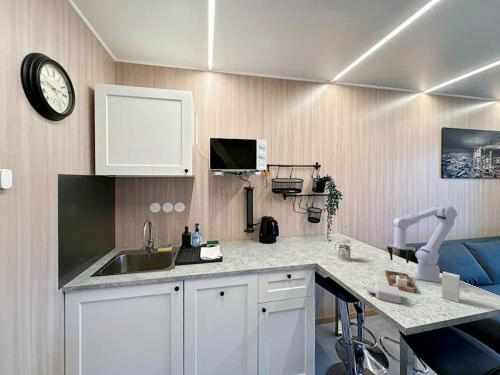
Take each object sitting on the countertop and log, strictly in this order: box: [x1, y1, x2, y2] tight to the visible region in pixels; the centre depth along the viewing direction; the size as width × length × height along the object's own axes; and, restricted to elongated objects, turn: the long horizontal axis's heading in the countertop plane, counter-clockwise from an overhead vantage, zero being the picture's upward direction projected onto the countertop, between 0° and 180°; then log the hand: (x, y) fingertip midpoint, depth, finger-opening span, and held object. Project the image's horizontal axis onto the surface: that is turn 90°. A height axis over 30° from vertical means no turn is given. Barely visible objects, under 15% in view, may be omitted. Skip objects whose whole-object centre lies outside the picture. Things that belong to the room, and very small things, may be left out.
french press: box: [334, 224, 353, 263], centre depth 153 cm, size 10×12×25 cm
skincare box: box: [441, 271, 461, 303], centre depth 102 cm, size 6×4×12 cm
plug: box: [395, 275, 408, 287], centre depth 113 cm, size 4×5×6 cm
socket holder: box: [384, 269, 417, 294], centre depth 119 cm, size 11×21×2 cm, turn 154°
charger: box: [363, 282, 402, 305], centre depth 104 cm, size 5×9×15 cm
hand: (399, 261), depth 125 cm, fingers open, 7 cm apart
